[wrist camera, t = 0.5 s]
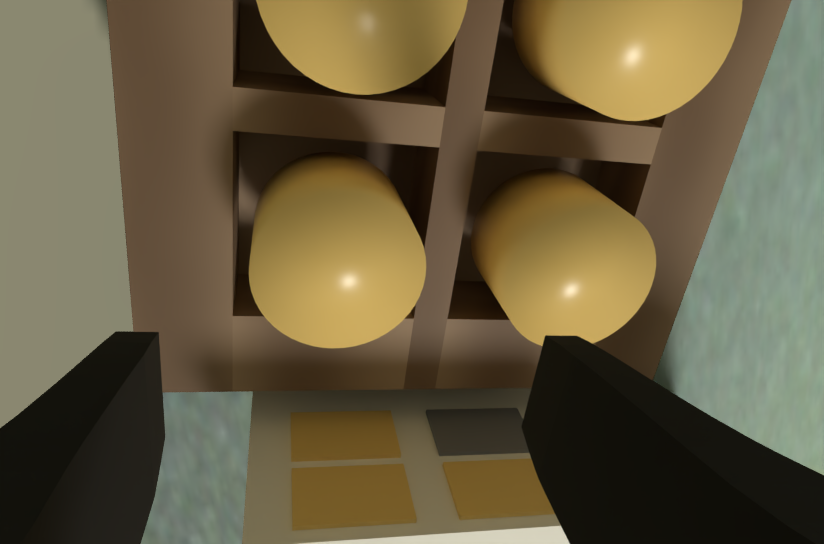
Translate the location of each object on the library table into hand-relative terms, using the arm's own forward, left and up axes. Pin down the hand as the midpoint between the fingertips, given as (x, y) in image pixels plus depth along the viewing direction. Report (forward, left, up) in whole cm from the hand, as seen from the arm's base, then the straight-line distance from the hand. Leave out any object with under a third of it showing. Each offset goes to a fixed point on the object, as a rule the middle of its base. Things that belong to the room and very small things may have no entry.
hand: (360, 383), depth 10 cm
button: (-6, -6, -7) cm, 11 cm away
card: (-3, +7, -9) cm, 12 cm away
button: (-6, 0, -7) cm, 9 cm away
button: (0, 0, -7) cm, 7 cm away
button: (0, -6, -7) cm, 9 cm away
